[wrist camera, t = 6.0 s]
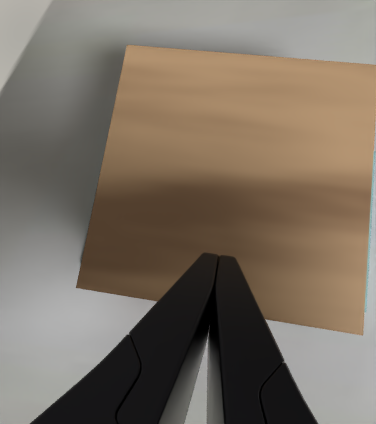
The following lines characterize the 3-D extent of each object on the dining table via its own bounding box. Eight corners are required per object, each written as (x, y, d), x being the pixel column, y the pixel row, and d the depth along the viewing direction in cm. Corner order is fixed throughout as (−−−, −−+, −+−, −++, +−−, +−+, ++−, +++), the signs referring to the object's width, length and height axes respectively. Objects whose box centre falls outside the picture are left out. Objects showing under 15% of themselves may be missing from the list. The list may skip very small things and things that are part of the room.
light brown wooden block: (362, 335, 12) (378, 65, 14) (75, 287, 13) (127, 44, 15) (320, 320, 17) (336, 123, 18) (115, 287, 18) (150, 104, 20)
